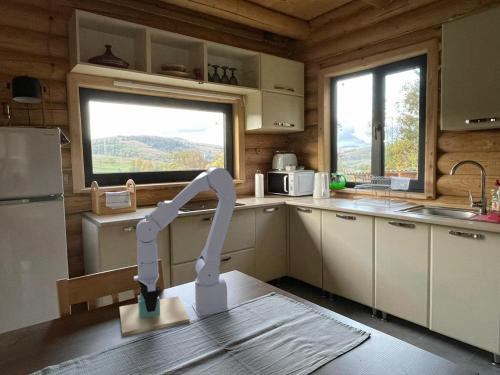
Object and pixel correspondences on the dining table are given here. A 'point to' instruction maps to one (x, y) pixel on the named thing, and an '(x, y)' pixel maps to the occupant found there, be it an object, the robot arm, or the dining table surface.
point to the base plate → (153, 317)
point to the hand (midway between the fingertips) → (149, 305)
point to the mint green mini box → (143, 310)
